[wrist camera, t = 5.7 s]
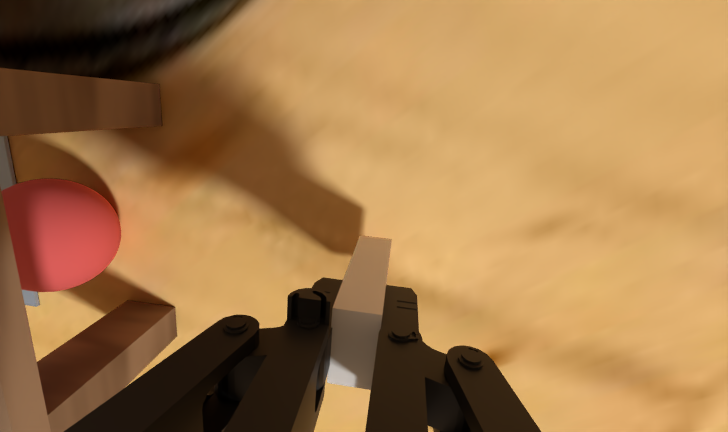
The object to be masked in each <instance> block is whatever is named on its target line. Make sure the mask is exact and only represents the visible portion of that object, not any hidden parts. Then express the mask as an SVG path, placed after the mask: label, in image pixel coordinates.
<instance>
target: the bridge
mask: <svg viewBox="0 0 728 432" xmlns="http://www.w3.org/2000/svg"><path fill="white" fill-rule="evenodd" d="M150 126H162V117H161V103H160V89H159V84H153V83H143V82H133V81H124V80H114V79H104V78H94V77H85V76H75V75H65V74H55V73H46V72H36V71H26V70H17V69H7V68H0V136H13V135H28V134H43V133H58V132H74V131H89V130H104V129H120V128H135V127H150ZM176 337H177V329H176V315H175V307H170V306H163V305H156V304H149V303H143V302H136V301H129V300H127V301H126V302H124V303H123V304H122V305H120V306H119V307H117V308H116V309H114V310H113V311H111V312H110V313H108V314H107V315H105V316H104V317H102V318H101V319H100V320H98V321H97V322H95V323H94V324H92V325H91V326H89V327H88V328H86V329H85V330H83V331H82V332H80V333H79V334H78V335H76V336H75V337H73V338H72V339H70V340H69V341H67V342H66V343H64V344H63V345H61V346H60V347H58V348H57V349H56V350H54V351H53V352H51V353H50V354H48V355H47V356H45V357H44V358H42V359H41V360H39V361H38V362H36V357H35V352H34V347H33V342H32V337H31V332H30V328H29V323H28V318H27V313H26V308H25V303H24V299H23V294H22V289H21V284H20V279H19V274H18V269H17V265H16V260H15V255H14V250H13V245H12V240H11V235H10V231H9V226H8V221H7V216H6V211H5V206H4V202H3V197H2V192H1V187H0V432H64V431H65V430H67V429H68V428H69V427H71V426H72V425H74V424H75V423H76V422H78V421H79V420H81V419H82V418H83V417H85V416H86V415H88V414H89V413H90V412H92V411H93V410H95V409H96V408H97V407H99V406H100V405H102V404H103V403H104V402H106V401H107V400H109V399H110V398H111V397H113V396H114V395H116V394H117V393H118V392H120V391H121V390H123V389H124V388H125V387H126V386H127V385H128V384H129V383H130V382H131V381H132V380H133V379H134V378H135V377H136V376H137V375H138V374H139V373H140V372H141V371H142V370H143V369H144V368H145V367H146V366H147V365H148V364H149V363H150V362H151V361H152V360H153V359H154V358H155V357H156V356H157V355H158V354H159V353H160V352H161V351H162V350H163V349H164V348H165V347H166V346H168V345H169V344H170V343H171V342H172V341H173V340H174V339H175V338H176Z"/></svg>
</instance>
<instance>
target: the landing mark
mask: <svg viewBox="0 0 728 432" xmlns="http://www.w3.org/2000/svg"><path fill="white" fill-rule="evenodd" d="M15 184H16V179H15V174H14V169H13V164H12V159H11V154H10V148H9V143H8V138H7V136H0V187H1V191H2V190H4V189H6V188H8V187H11V186H13V185H15ZM22 294H23V299H24V303H25V305H29V306H36V307H37V306H39V305H40V304H39V299H38V294H37V292H35V291H27V290H22Z"/></svg>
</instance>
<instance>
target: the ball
mask: <svg viewBox="0 0 728 432" xmlns="http://www.w3.org/2000/svg"><path fill="white" fill-rule="evenodd" d="M1 192H2V197H3V202H4V206H5V211H6V216H7V221H8V226H9V231H10V235H11V240H12V245H13V250H14V255H15V260H16V265H17V269H18V274H19V279H20V284H21V289H22V290H27V291H35V292H54V291H60V290H65V289H69V288H73V287H76V286H79V285H81V284H83V283H85V282H87V281H89V280H91V279H93V278H94V277H96V276H97V275H98V274H100V273H101V272H102V271H103V270H104V269H105V268H106V267H107V266H108V265H109V264H110V263H111V261H112V260H113V258H114V257H115V255H116V253H117V251H118V248H119V245H120V240H121V227H120V222H119V219H118V216H117V214H116V212H115V210H114V209H113V207H112V206H111V205H110V203H109V202H108V201H107V200H106V199H105V198H104V197H103V196H101V195H100V194H99V193H97V192H96V191H94V190H92V189H91V188H89V187H87V186H84V185H82V184H79V183H76V182H73V181H68V180H62V179H35V180H29V181H25V182H21V183H18V184H15V185H13V186H11V187H8V188H6V189H4V190H2V191H1Z"/></svg>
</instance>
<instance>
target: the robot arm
mask: <svg viewBox="0 0 728 432" xmlns="http://www.w3.org/2000/svg"><path fill="white" fill-rule="evenodd" d="M391 240H392V239H385V238H377V237H369V236H361V235H360V236H359V239H358V242H357V244H356V247H355V250H354V252H353V255H352V258H351V260H350V263H349V266H348V268H347V271H346V273H345V276H344V279H343V280H337V279H330V278H321V279H320V280H318V281H317V282H315V283H314V285H313V287H312V288H305V289H298V290H296V291H293V292H292V293H290V294H289V295H288V307H287V321H286V322H285V324H284V326H281V327H276V328H263V329H259V322H258V321H257V320H256V319H255V318H253V317H251V316H247V315H233V316H229V317H225V318H223V319H221V320H219V321H218V322H216V323H215V324H213V325H212V326H211V327H209V328H208V329H206V330H205V331H204V332H202V333H201V334H199V335H198V336H197V337H195V338H194V339H192V340H191V341H190V342H188V343H187V344H185V345H184V346H183V347H181V348H180V349H178V350H177V351H176V352H174V353H173V354H171V355H170V356H169V357H167V358H166V359H164V360H163V361H162V362H160V363H159V364H157V365H156V366H155V367H153V368H152V369H150V370H149V371H148V372H146V373H145V374H143V375H142V376H141V377H139V378H138V379H136V380H135V381H134V382H132V383H131V384H129V385H128V386H127V387H125V388H124V389H123V390H121V391H120V392H118V393H117V394H116V395H114V396H113V397H111V398H110V399H109V400H107V401H106V402H104V403H103V404H102V405H100V406H99V407H97V408H96V409H95V410H93V411H92V412H90V413H89V414H88V415H86V416H85V417H83V418H82V419H81V420H79V421H78V422H76V423H75V424H74V425H72V426H71V427H69V428H68V429H67V430H65V431H64V432H314V429H315V425H316V422H317V418H318V415H319V411H320V408H321V404H322V401H323V397H324V389H325V380H326V377H327V374H328V378H327V383H331V384H338V385H344V386H350V387H357V388H363V389H369V390H371V394H370V401H369V409H368V416H367V424H366V431H365V432H428V426H431V427H433V431H434V432H541V431H540V429H539V428H538V426H537V425H536V423H535V422H534V420H533V419H532V417H531V416H530V414H529V413H528V412H527V410H526V409H525V407H524V406H523V404H522V403H521V401H520V400H519V398H518V397H517V395H516V394H515V392H514V391H513V389H512V388H511V386H510V385H509V384H508V382H507V381H506V379H505V378H504V376H503V375H502V373H501V372H500V370H499V369H498V367H497V366H496V364H495V363H494V361H493V360H492V359H491V358H490V357H489V356H488V355H487V354H486V353H484V352H482V351H481V350H479V349H476V348H473V347H470V346H455V347H453V348H451V349H449V351H448V353H447V354H444V353H442V352H439V351H436V350H434V349H432V348H430V347H429V346H427V345H426V344H425V343H424V342H423V341H422V337H421V334H420V333H419V326H418V311H417V310H418V307H417V295H416V294H415V293H414V291H413V290H412V289H411V288H404V287H397V286H389V285H386V282H387V274H388V265H389V257H390V248H391Z"/></svg>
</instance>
